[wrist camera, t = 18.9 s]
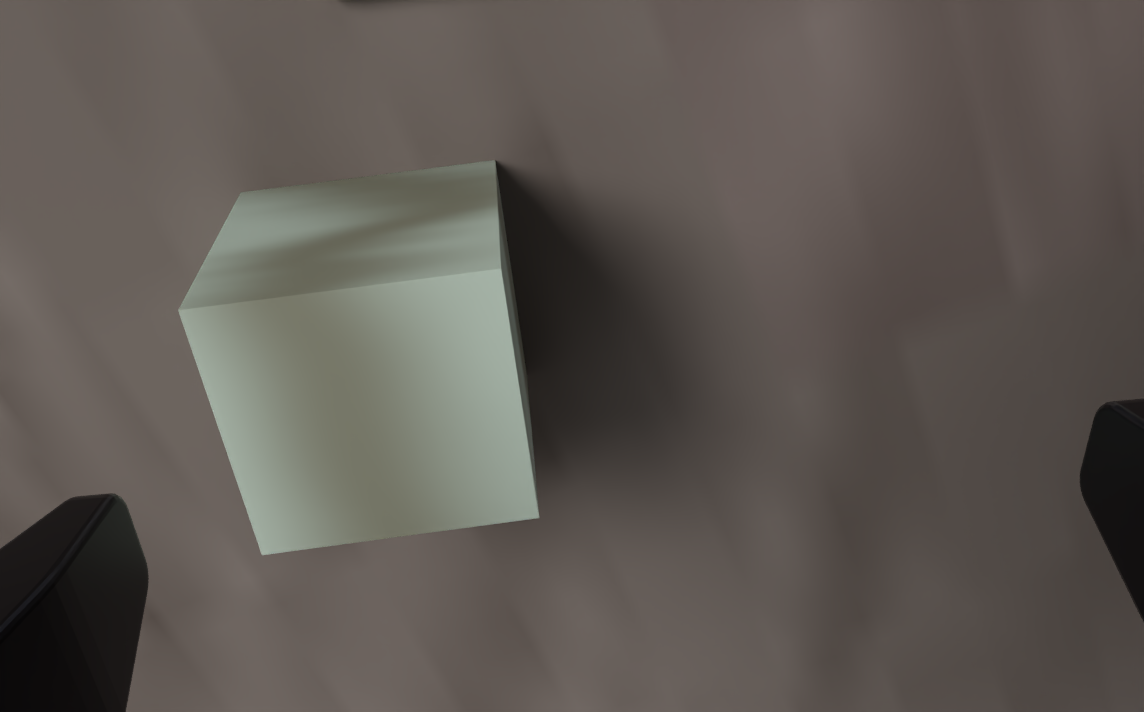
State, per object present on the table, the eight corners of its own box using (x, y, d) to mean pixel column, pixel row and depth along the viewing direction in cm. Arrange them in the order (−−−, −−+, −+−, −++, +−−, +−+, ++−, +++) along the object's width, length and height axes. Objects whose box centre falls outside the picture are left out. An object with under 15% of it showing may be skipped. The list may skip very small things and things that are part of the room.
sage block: (495, 158, 20) (500, 268, 16) (526, 373, 23) (539, 517, 18) (241, 191, 20) (178, 310, 16) (302, 402, 23) (261, 555, 18)
